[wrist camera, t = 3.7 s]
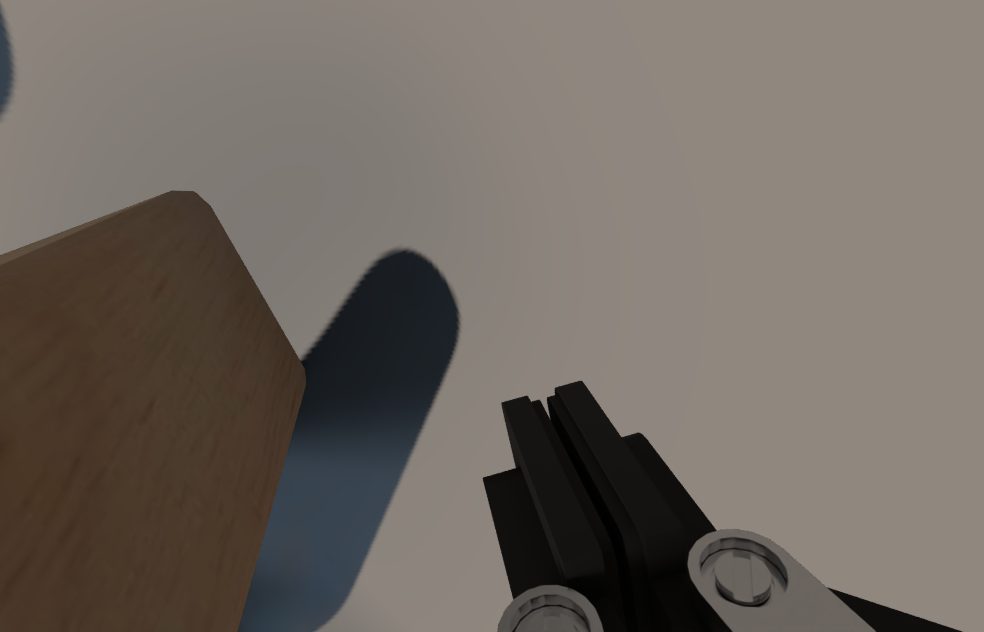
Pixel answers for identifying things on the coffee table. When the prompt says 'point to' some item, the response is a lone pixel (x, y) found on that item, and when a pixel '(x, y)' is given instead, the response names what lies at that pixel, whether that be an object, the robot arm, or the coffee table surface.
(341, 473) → the coffee table surface
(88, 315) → the block
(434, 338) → the coffee table surface
